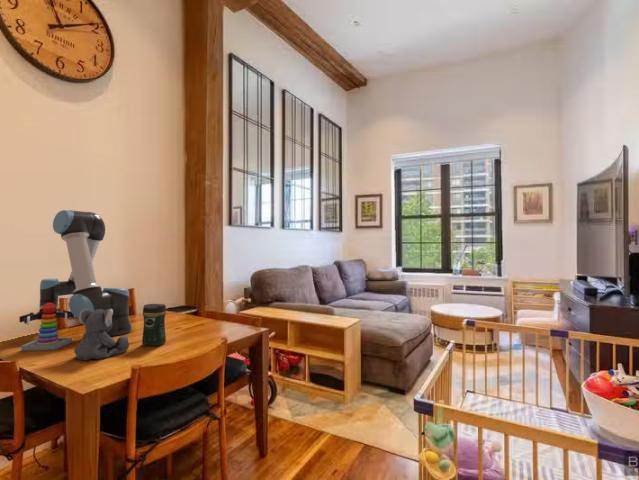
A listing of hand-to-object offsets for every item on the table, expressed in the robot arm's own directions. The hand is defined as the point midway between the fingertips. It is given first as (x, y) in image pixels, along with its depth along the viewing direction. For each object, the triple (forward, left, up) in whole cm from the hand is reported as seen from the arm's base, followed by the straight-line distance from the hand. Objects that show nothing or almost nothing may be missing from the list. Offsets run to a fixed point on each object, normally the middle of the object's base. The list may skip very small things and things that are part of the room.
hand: (47, 319), depth 159 cm
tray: (-1, +1, -12) cm, 12 cm away
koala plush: (-29, +15, -12) cm, 35 cm away
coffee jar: (-46, 0, -12) cm, 47 cm away
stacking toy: (-1, +1, -11) cm, 11 cm away
